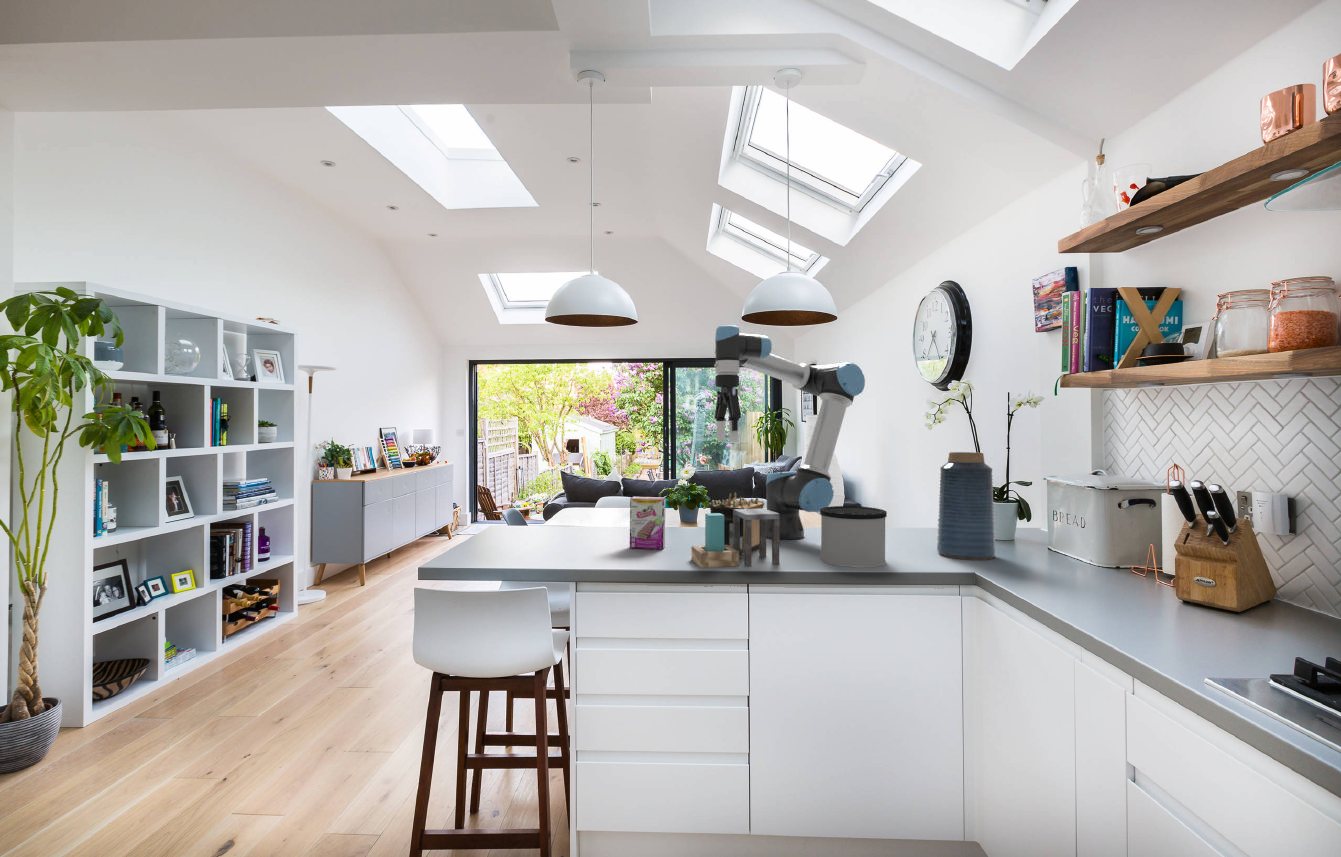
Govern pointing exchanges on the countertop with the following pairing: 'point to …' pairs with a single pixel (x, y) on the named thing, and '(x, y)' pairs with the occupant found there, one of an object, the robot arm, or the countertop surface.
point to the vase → (966, 508)
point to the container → (853, 536)
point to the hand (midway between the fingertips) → (727, 441)
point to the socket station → (733, 554)
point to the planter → (727, 511)
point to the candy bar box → (647, 522)
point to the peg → (714, 532)
